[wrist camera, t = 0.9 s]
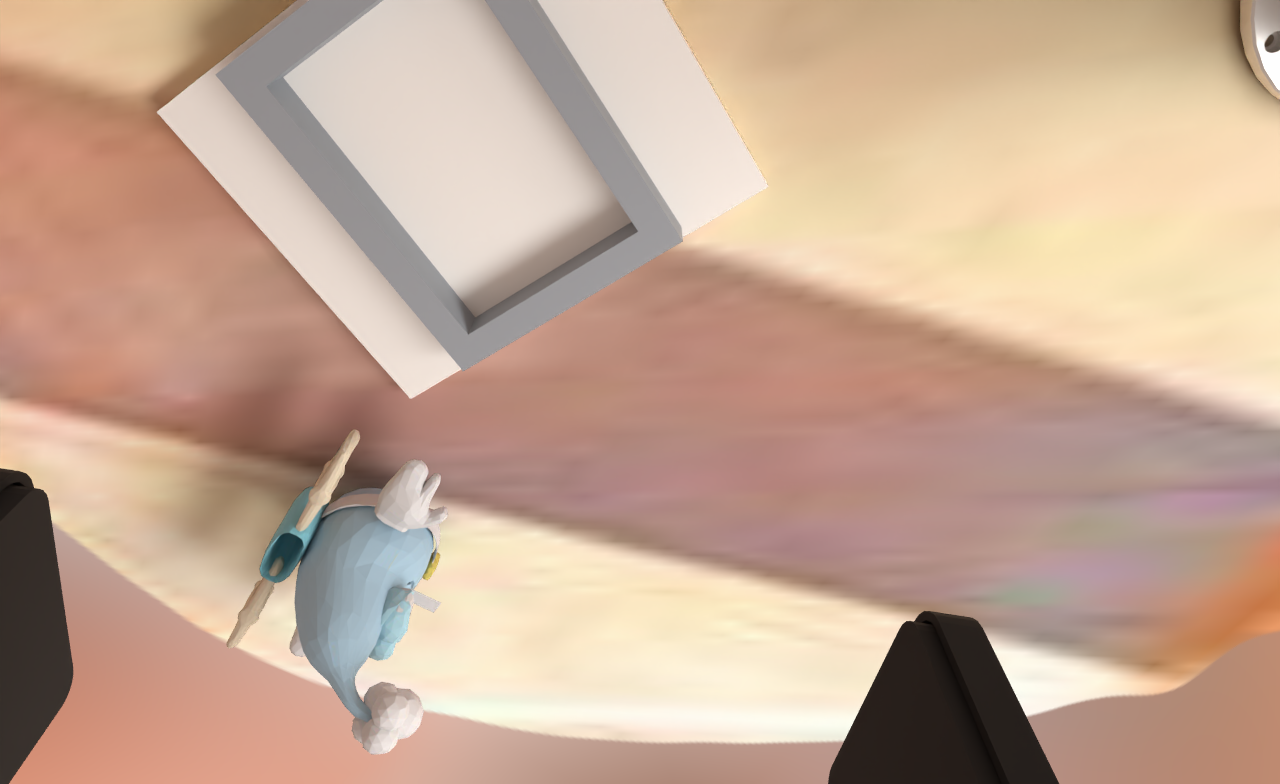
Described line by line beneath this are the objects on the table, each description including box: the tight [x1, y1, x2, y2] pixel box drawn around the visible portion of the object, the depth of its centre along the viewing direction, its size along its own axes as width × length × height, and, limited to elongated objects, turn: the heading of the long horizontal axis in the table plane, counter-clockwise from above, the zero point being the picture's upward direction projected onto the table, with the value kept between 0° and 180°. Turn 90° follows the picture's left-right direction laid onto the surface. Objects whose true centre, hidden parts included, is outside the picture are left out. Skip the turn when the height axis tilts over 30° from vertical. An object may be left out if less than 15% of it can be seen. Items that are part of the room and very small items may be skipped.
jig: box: [157, 0, 768, 399], centre depth 40 cm, size 22×18×3 cm
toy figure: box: [227, 429, 448, 754], centre depth 46 cm, size 17×10×15 cm, turn 146°
